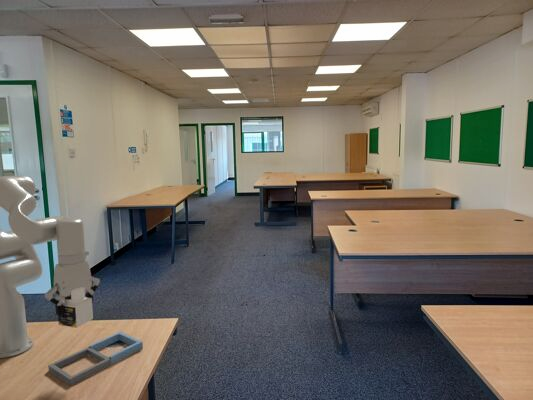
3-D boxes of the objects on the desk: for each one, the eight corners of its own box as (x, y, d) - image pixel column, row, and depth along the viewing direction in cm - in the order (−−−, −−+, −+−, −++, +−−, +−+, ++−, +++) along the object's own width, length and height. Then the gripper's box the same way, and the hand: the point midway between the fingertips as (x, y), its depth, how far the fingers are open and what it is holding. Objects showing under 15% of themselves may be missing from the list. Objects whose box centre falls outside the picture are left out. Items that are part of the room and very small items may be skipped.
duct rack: (48, 371, 116) (48, 363, 116) (120, 337, 137) (120, 331, 137) (70, 385, 109) (69, 377, 108) (142, 348, 129) (142, 341, 129)
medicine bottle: (58, 325, 114) (55, 288, 112) (76, 315, 121) (73, 281, 119) (76, 328, 112) (73, 291, 110) (93, 318, 118) (91, 283, 117)
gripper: (92, 250, 123) (94, 299, 125) (36, 263, 108) (40, 318, 111) (104, 254, 118) (107, 304, 121) (48, 267, 104) (52, 324, 106)
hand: (75, 311), depth 116 cm, fingers closed on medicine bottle, 8 cm apart
